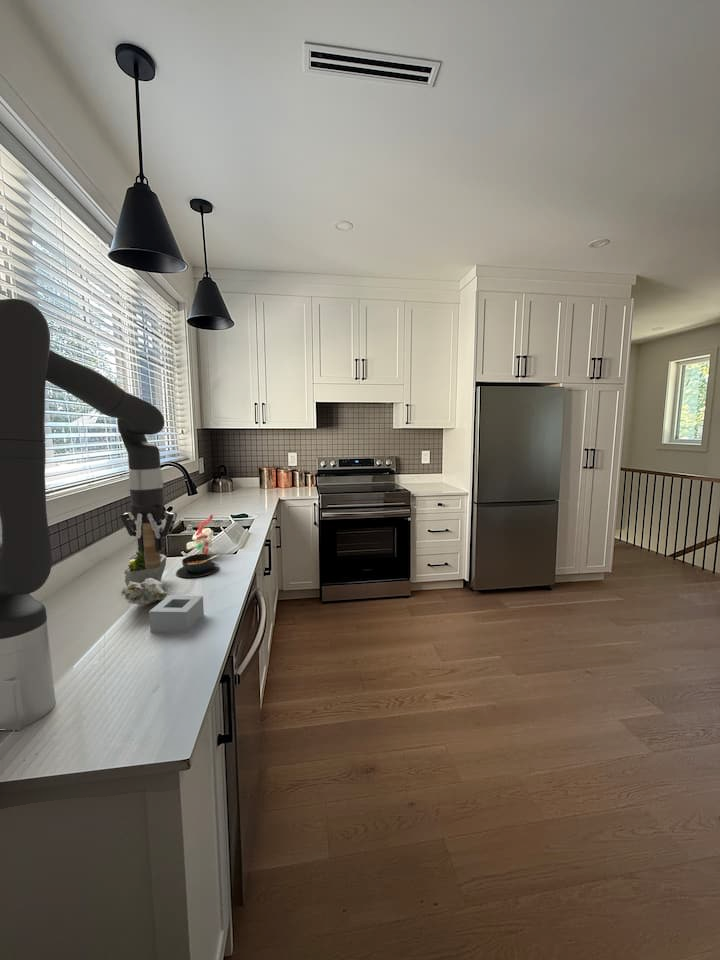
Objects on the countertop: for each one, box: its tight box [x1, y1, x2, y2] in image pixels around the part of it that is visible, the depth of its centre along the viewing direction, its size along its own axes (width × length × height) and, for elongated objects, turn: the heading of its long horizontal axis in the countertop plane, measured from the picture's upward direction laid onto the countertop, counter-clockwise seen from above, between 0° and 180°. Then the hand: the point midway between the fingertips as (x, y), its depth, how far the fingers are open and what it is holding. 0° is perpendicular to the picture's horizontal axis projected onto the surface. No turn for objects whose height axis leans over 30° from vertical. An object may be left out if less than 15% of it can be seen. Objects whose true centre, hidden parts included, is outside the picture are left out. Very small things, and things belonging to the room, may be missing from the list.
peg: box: [142, 523, 161, 569], centre depth 102 cm, size 4×4×12 cm
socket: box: [148, 595, 205, 634], centre depth 108 cm, size 10×10×6 cm
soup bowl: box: [175, 553, 221, 579], centre depth 148 cm, size 15×16×7 cm
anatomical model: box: [185, 514, 214, 554], centre depth 164 cm, size 15×11×18 cm
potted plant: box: [124, 546, 167, 587], centre depth 134 cm, size 12×13×15 cm
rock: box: [120, 578, 168, 607], centre depth 119 cm, size 19×11×10 cm, turn 16°
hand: (152, 550), depth 102 cm, fingers closed on peg, 3 cm apart
